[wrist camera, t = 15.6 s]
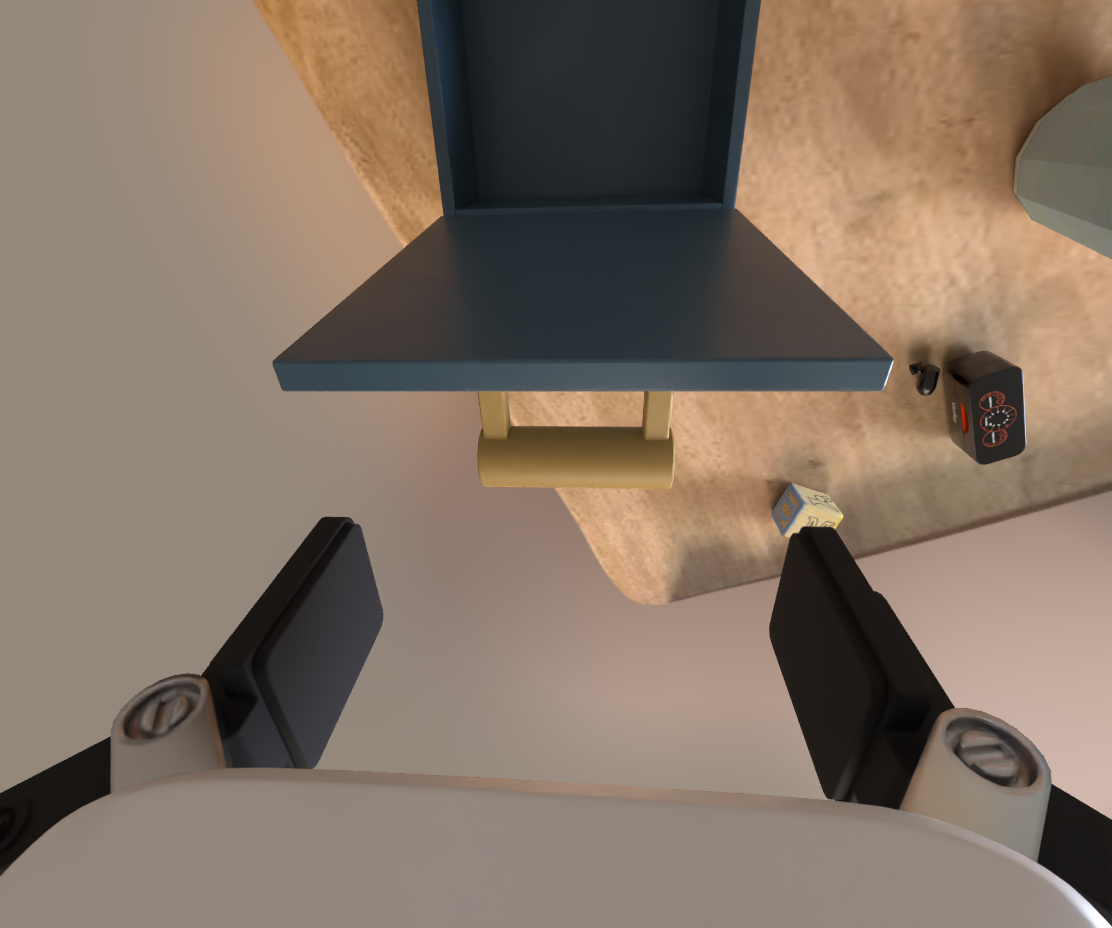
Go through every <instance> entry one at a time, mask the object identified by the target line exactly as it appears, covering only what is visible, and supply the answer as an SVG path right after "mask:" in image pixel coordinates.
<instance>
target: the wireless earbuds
mask: <svg viewBox="0 0 1112 928" xmlns="http://www.w3.org/2000/svg"><path fill="white" fill-rule="evenodd" d="M922 364H923V363H915V364H911V365H909V369H910V372H911V374H912V375H914V374H916V373H918V375H917V381H916V389H917V391H918V393H919V394H921V395H931V394H932V393H933V391H934V390H935V388H936V386H937V381H938V377H939V372H940V368H939V367H938V366H935V365H932V364H926V365H922ZM943 375H944V383H945V391H946V399H947V407H948V415H949V423H950V432H951V439H952V441H953V442H954V443H955V444H956V445H957V446H958V447H959V448H961V449H962V450H963V451H964V452H965V453H967V454H968V455H969V456H970V457H971V458H973V459H974V460H975V461H976V462H977V463H979V464H983V465H985V464H990V463H993V462H996V461H1000V460H1003V459H1006V458H1010V457H1013V456H1016V455H1019V454H1020V453H1022V452H1023V451H1024V449H1025V447H1026V431H1025V411H1024V390H1023V372H1022V369H1021V368H1020V367H1018V366H1016V365H1014V364H1012V363H1010V362H1008V361H1006V360H1004V359H1003V358H1001V357H999V356H997V355H995V354H993V353H991V352H989V351H980V352H976V353H973V354H971V355H968V356H965V357H962V358H959V359H956V360H953V361H951V362H949V363H947V364H946V365H945V367H944V369H943Z"/></svg>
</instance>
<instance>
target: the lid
mask: <svg viewBox="0 0 1112 928" xmlns="http://www.w3.org/2000/svg"><path fill="white" fill-rule="evenodd" d="M893 362H894V359H893V357H892V356H891V355H890V354H889V353H888V352H887V351H886V350H884V349H883V348H882V347H881V346H880V345H879V344H878V343H877V342H876V341H875V340H874V339H873V338H872V337H871V336H870V335H869V334H868V333H867V332H866V331H865V330H863V329H862V328H861V327H860V326H859V325H858V324H857V323H856V322H855V321H854V320H853V319H852V318H851V317H850V316H849V315H848V314H847V313H846V312H845V311H844V310H842V309H841V308H840V307H839V306H838V305H837V304H836V303H835V302H834V301H833V300H832V299H831V298H830V297H829V296H828V295H827V294H826V293H825V292H824V291H823V290H821V289H820V288H819V287H818V286H817V285H816V284H815V283H814V282H813V281H812V280H811V279H810V278H809V277H808V276H807V275H806V274H805V273H804V272H803V271H801V270H800V269H799V268H798V267H797V266H796V265H795V264H794V263H793V262H792V261H791V260H790V259H789V258H788V257H787V256H786V255H785V254H784V253H783V252H782V251H780V250H779V249H778V248H777V247H776V246H775V245H774V244H773V243H772V242H771V241H770V240H769V239H768V238H767V237H766V236H765V235H764V234H763V233H762V232H761V231H759V230H758V229H757V228H756V227H755V226H754V225H753V224H752V223H751V222H750V221H749V220H748V219H747V218H746V217H745V216H744V215H743V214H742V213H741V212H740V211H738V210H737V209H702V210H663V211H623V212H584V213H544V214H505V215H465V216H441V217H440V218H439V219H438V220H436V221H435V222H434V223H433V224H432V225H431V226H429V227H428V228H427V229H426V230H425V231H424V232H422V233H421V234H420V235H419V236H418V237H417V238H415V239H414V240H413V241H412V242H411V243H410V244H408V245H407V246H406V247H405V248H404V249H403V250H401V251H400V252H399V253H398V254H397V255H396V256H394V257H393V258H392V259H391V260H390V261H389V262H388V263H386V264H385V265H384V266H383V267H382V268H380V269H379V270H378V271H377V272H376V273H375V274H373V275H372V276H371V277H370V278H369V279H368V280H366V281H365V282H364V283H363V284H362V285H361V286H360V287H358V288H357V289H356V290H355V291H354V292H353V293H351V294H350V295H349V296H348V297H347V298H346V299H345V300H343V301H342V302H341V303H340V304H339V305H337V306H336V307H335V308H334V309H333V310H332V311H330V312H329V313H328V314H327V315H326V316H325V317H323V318H322V319H321V320H320V321H319V322H318V323H317V324H315V325H314V326H313V327H312V328H311V329H309V330H308V331H307V332H306V333H305V334H304V335H303V336H302V337H300V338H299V339H298V340H297V341H295V342H294V343H293V344H292V345H291V346H290V347H288V348H287V349H286V350H285V351H284V352H283V353H281V354H280V355H279V356H278V357H277V358H276V359H275V360H273V367H274V369H275V372H276V375H277V378H278V380H279V383H280V386H281V388H282V390H283V391H478V398H479V405H480V413H481V420H482V430H481V433H480V436H479V442H478V472H479V477H480V481H481V484H482V485H483V486H485V487H557V488H630V489H669V488H671V486H672V482H673V476H674V463H675V448H674V436H673V431H672V429H671V428H670V420H671V411H672V401H673V391H883V389H884V388H885V385H886V382H887V379H888V376H889V374H890V371H891V368H892V365H893ZM507 391H645V392H644V407H643V422H642V427H561V426H511V424H510V414H509V404H508V394H507Z"/></svg>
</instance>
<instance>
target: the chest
mask: <svg viewBox="0 0 1112 928" xmlns="http://www.w3.org/2000/svg"><path fill="white" fill-rule="evenodd" d="M760 3H761V0H417V5H418V13H419V21H420V29H421V37H422V45H423V53H424V61H425V69H426V77H427V85H428V93H429V101H430V109H431V117H432V125H433V133H434V141H435V150H436V158H437V166H438V174H439V182H440V190H441V198H442V206H443V214H444V216H465V215H505V214H544V213H584V212H623V211H663V210H702V209H735V201H736V193H737V185H738V178H739V170H740V162H741V154H742V146H743V138H744V130H745V122H746V114H747V106H748V98H749V90H750V83H751V75H752V67H753V59H754V51H755V43H756V35H757V27H758V19H759V11H760Z"/></svg>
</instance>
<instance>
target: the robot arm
mask: <svg viewBox="0 0 1112 928" xmlns="http://www.w3.org/2000/svg"><path fill="white" fill-rule="evenodd" d="M382 622H383V609H382V605H381V602H380V598H379V594H378V590H377V587H376V583H375V579H374V575H373V571H372V567H371V563H370V560H369V556H368V552H367V548H366V545H365V541H364V537H363V533H362V529H361V527H360V525H359V524H354V522H353V520H352V519H351V518H349V517H323V518H321V519H320V520H319V522H318V523H317V524H316V526H315V527H314V528H313V530H312V531H311V532H310V533H309V535H308V536H307V537H306V539H305V540H304V541H303V542H302V544H301V545H300V546H299V548H298V549H297V550H296V552H295V553H294V554H293V556H292V557H291V558H290V559H289V561H288V562H287V563H286V565H285V566H284V567H283V568H282V570H281V571H280V573H279V574H278V575H277V576H276V578H275V579H274V580H273V582H272V583H271V584H270V585H269V587H268V588H267V589H266V591H265V592H264V593H263V595H262V596H261V597H260V598H259V600H258V601H257V602H256V604H255V605H254V606H253V608H252V609H251V610H250V611H249V613H248V614H247V615H246V617H245V618H244V620H243V621H242V622H241V623H240V624H239V626H238V627H237V629H236V630H235V631H234V632H233V634H232V635H231V636H230V637H229V639H228V640H227V641H226V643H225V644H224V645H223V647H222V648H221V649H220V650H219V652H218V653H217V654H216V656H215V657H214V658H213V660H212V661H211V662H210V665H209V666H208V667H207V669H206V670H205V671H204V673H203V674H202V675H201V676H200V675H196V674H188V673H187V674H180V675H174V676H171V677H168V678H165V679H162V680H159V681H158V682H156V683H154V684H152V685H150V686H148V687H146V688H145V689H143V690H142V691H141V692H139V693H138V694H137V695H135V696H134V697H133V698H132V699H130V701H129V702H128V703H127V704H126V705H125V706H124V707H123V708H122V709H121V710H120V712H119V713H118V715H117V717H116V718H115V720H114V722H113V726H112V730H111V737H108V738H107V739H105V740H103V741H101V742H99V743H97V744H95V745H93V746H91V747H89V748H87V749H85V750H83V751H82V752H79V753H77V754H76V755H74V756H72V757H70V758H68V759H66V760H64V761H62V762H60V763H58V764H56V765H54V766H52V767H50V768H48V769H46V770H44V771H43V772H41V773H39V774H37V775H35V776H33V777H31V778H29V779H27V780H25V781H23V782H21V783H19V784H17V785H15V786H13V787H11V788H10V789H8V790H6V791H4V792H2V793H0V928H1112V820H1111V819H1110V818H1108V817H1106V816H1105V815H1103V814H1101V813H1099V812H1098V811H1096V810H1094V809H1093V808H1091V807H1090V806H1088V805H1086V804H1085V803H1083V802H1081V801H1079V800H1078V799H1076V798H1075V797H1073V796H1071V795H1070V794H1068V793H1066V792H1064V791H1063V790H1061V789H1059V788H1058V787H1056V786H1054V785H1053V784H1052V782H1051V770H1050V768H1049V766H1048V764H1047V762H1046V760H1045V758H1044V756H1043V755H1042V754H1041V752H1040V751H1039V750H1038V749H1037V748H1036V746H1035V745H1034V744H1033V743H1032V742H1031V741H1030V740H1029V739H1028V738H1027V737H1026V736H1024V735H1023V734H1022V733H1021V732H1020V731H1018V730H1017V729H1016V728H1014V727H1013V726H1011V725H1009V724H1008V723H1006V722H1004V721H1003V720H1001V719H999V718H997V717H995V716H992V715H989V714H987V713H985V712H982V711H978V710H973V709H968V708H955V707H954V705H953V704H952V702H951V701H950V699H949V698H948V696H947V695H946V693H945V691H944V690H943V688H942V687H941V685H940V684H939V682H938V680H937V679H936V677H935V676H934V674H933V673H932V671H931V669H930V668H929V666H928V665H927V663H926V662H925V660H924V658H923V657H922V655H921V654H920V653H919V651H918V649H917V647H916V646H915V644H914V643H913V641H912V640H911V638H910V636H909V635H908V633H907V632H906V630H905V629H904V627H903V626H902V624H901V623H900V621H899V619H898V618H897V616H896V614H895V613H894V611H893V610H892V609H891V607H890V605H889V604H888V602H887V600H886V599H885V598H884V597H883V596H882V594H880V593H878V592H876V591H873V590H872V588H871V586H870V585H869V583H868V582H867V580H866V578H865V577H864V575H863V573H862V572H861V570H860V569H859V567H858V565H857V564H856V562H855V561H854V559H853V557H852V556H851V554H850V553H849V551H848V549H847V548H846V546H845V544H844V543H843V541H842V540H841V538H840V536H839V535H838V533H837V532H836V530H835V529H834V528H833V527H817V526H804V527H802V528H801V529H800V531H799V533H793V534H792V535H791V537H790V541H789V545H788V549H787V553H786V557H785V562H784V566H783V570H782V574H781V579H780V583H779V587H778V591H777V596H776V600H775V604H774V608H773V612H772V617H771V621H770V626H769V632H770V639H771V643H772V646H773V649H774V652H775V655H776V657H777V660H778V663H779V666H780V669H781V672H782V675H783V678H784V680H785V683H786V686H787V689H788V692H789V695H790V698H791V700H792V703H793V706H794V709H795V712H796V715H797V718H798V721H799V724H800V726H801V729H802V732H803V735H804V738H805V741H806V744H807V747H808V750H809V752H810V755H811V758H812V761H813V764H814V767H815V770H816V773H817V776H818V778H819V781H820V784H821V787H822V790H823V792H824V794H825V796H826V797H827V798H828V799H833V800H835V801H831V800H819V799H807V798H806V799H805V798H794V797H781V796H770V795H757V794H743V793H728V792H713V791H697V790H681V789H665V788H649V787H634V786H617V785H601V784H582V783H567V782H566V783H565V782H550V781H532V780H515V779H497V778H480V777H462V776H441V775H423V774H405V773H386V772H366V771H346V770H319V769H313V768H314V767H315V766H316V765H317V763H318V761H319V760H320V758H321V756H322V753H323V751H324V749H325V747H326V745H327V743H328V740H329V738H330V736H331V734H332V732H333V730H334V727H335V725H336V723H337V721H338V719H339V717H340V715H341V712H342V710H343V708H344V706H345V704H346V702H347V700H348V697H349V695H350V693H351V691H352V689H353V686H354V685H355V682H356V680H357V678H358V676H359V673H360V671H361V670H362V667H363V665H364V663H365V661H366V659H367V656H368V654H369V652H370V650H371V648H372V646H373V644H374V642H375V639H376V637H377V635H378V633H379V631H380V629H381V626H382Z"/></svg>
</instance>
